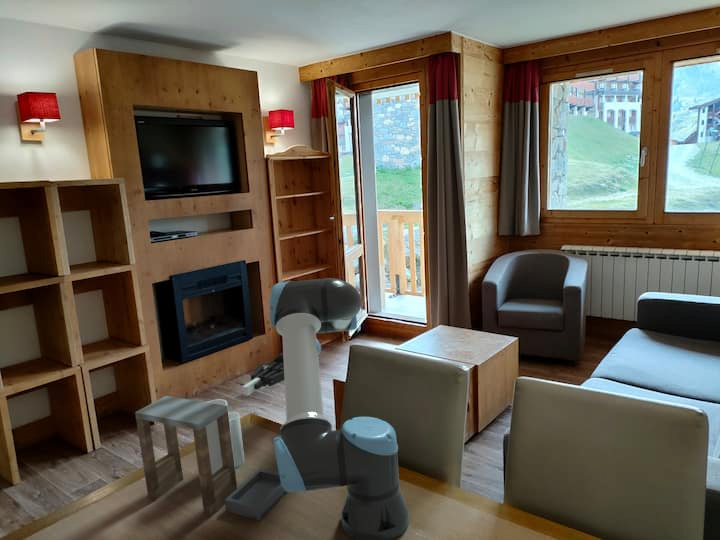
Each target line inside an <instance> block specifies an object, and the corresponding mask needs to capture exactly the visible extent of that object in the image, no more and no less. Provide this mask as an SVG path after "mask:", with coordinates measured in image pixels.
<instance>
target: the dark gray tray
mask: <svg viewBox="0 0 720 540" xmlns="http://www.w3.org/2000/svg"><path fill="white" fill-rule="evenodd" d="M287 493H288V492H286V491H285V490H284V489H283V488H282V485H281V481H280V477H279V472H276V471H271V470H267V469H263V468H258V469H257V470H256V471H255V472H254V473H253V474H252V475H251V476H249V477H248V478H247V479H246V480H245V481H244V482H243V483H241V484H240V486H237V489H236V490H235V491H234V492H233V493H232V494H231V495H230V496H228V497H227V498H226V499H225V505H224V506H225V511H226V512H228V513H232V514H236V515H239V516H242V517H246V518H250V519H254V520H257V521H262V520H263V519H264V517H266V516H267V514H268V513H270V511H271V510H272V509H273V508H274V507H275V506H276V505H277V504H278V503H279V502H280V501H281V500H282V499H283V498H284V497H285V496H286V495H287ZM284 495H285V496H284ZM283 496H284V497H283ZM282 497H283V498H282ZM281 498H282V499H281ZM280 499H281V500H280ZM279 500H280V501H279ZM262 518H263V519H262Z"/></svg>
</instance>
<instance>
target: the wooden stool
mask: <svg viewBox="0 0 720 540" xmlns="http://www.w3.org/2000/svg"><path fill="white" fill-rule="evenodd" d="M207 402H208V401H206V402H205V401H199V400H196V399H195V400H193V399H188V398H181V397H175V396H169V395H165V396H163V397H161V398H159V399H158V400H156V401H153V402H152V403H149V404H148V405H146V406H145V407H143V408H140V409H138V410H137V411H135V412H134V413H135V421H136V426H137V427H136V428H137V434H138V438H139V446H140V451H141V452H140V453H141V458H142V460H141V461H142V464H143V465H142V466H143V471H144V479H145V484H146V491H147V497H148V500H149V501H153V502H155V501H157V500H158V499H159V498H161V497H162V496H164V495H165V494H166V493H167V492H168V491H170V490H171V489H172V488H174V487H175V486H177V485H178V484H179V483H180V482H182V481H183V480H184V476H183V475H184V474H183V468H182V461H181V454H180V447H179V440H178V439H179V438H178V432H177V431H178V430H177V427H179V428H186V429H191V430H192V432H193V439H194V440H193V441H194V446H195V454H196V455H195V456H196V462H197V468H198V479H199V485H200V492H201V501H202V507H203V515H204V516H206V517H209V518H212V517H213V516H214V515H216V513H217V512H219V510H221V509H222V508H223V507H224V506H225V499H226V498H227V497H228V496H230V495H231V494H232V493H233V492H234V491H235V490H236V489H237V488H238V484H237V483H238V482H237V477H236V476H237V475H236V468H235V466H234V458H233V449H232V441H231V433H230V424H229V416H228V413H229V407H227V406H226V405H219V404H213V403H207ZM216 419H217V425H218V433H219V441H220V449H221V458H222V466H223V467H222V468H220V469H219V470H218V471H217V472H215V473H214V474H213V475H212V472H211V464H210V456H209V448H208V441H207V433H206V426H207V425H209V424H210V423H212V422H213V421H215V420H216ZM150 422H153V423H159V424H163V430H164V434H165V435H164V437H165V442H166V449H167V454H166V455H165V456H164V457H162V458H159V460H158V461H156V457H155V452H154V451H155V450H154V449H155V448H154V444H153V437H152V430H151V423H150Z"/></svg>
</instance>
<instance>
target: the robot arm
mask: <svg viewBox="0 0 720 540" xmlns="http://www.w3.org/2000/svg"><path fill="white" fill-rule="evenodd" d="M362 302H363V301H362V296H361V294H360V292H359V291H358V289H357V288H356V287H355V286H354V285H352V284H351V283H349V282H346V281H344V280H343V279H342V280H341V279H339V278H333V277H331V278H330V277H327V278H318V279H305V280H295V281H292V280H287V281H283V282H278V283H275V284H274V285H273V287H272V288H271V291H270V297H269V322H270V325H271V327H272V328H273V327H274V328H275V329H276V332H277V333H278V335H280V336H281V337H282V353H280V354H277V356H276V357H275V359H274V361H273V362H271V363H269V364H268V365H264V363H260V364H259V366H258V368H256V370H254V372H253V373H251V374H250V381H249V382H247V383H245V384H244V385H243V386H242V389H243V390H242V391H243V396H247V397H248V396H250V395H251V394H253V393H254V392H256V391H257V390H259V389H261V388H262V387H266V386H268V387H272V386H275V385H277V384H279V383H280V382H283V381H284V395H285V396H284V397H285V399H284V401H285V417H286V418H285V422H284V423H283V424H282V425H281V426H280V429H279V435H277V436H276V437H274V438H273V440H272V441H273V448H274V453H275V460H276V465H277V471H278V472H277V473H279V477H280V481H281V485H282V488H283V489H284V490H285V491H286V492H287V493H299V492H300V493H301V492H303V493H306V492H309V491H315V490H325V489H332V488H339V487H346V488H347V490H346V494H345V499H344V502H343V505H342V509H341V515H340V516H341V525H342V528H343V531H344V532H345V533H346V534H347V535H348V536H349V537H350V538H352V539H353V540H394V539H396V538H398V537H399V536H401V535H402V534H403V533H404V532H405V531H406V530H407V528H408V526H409V523H410V513H409V506H408V505H407V502H406V500H405V497H404V495H403V492H402V490H401V487H400V478H399V477H400V476H399V475H400V474H399V457H398V450H399V445H398V442H397V435H396V431H395V428H394V427H393V426H392V425H391V424H390V423H388V422H387V421H385V420H382V419H380V418H377V417H372V416H355V417H351V419H348V420H345V421H344V423H343V424H342V427H341V429H335V430H333V429H332V422H331V421H329V420H328V419H327V418H325V415H324V404H323V402H324V401H323V395H322V394H323V393H322V385H321V384H322V383H321V382H322V381H321V373H320V362H319V361H320V360H319V355H320V354H321V352H322V345H321V343H320V341H319V340H318V338H317V334H325V333H326V334H327V333H334V332H335V333H337V332H349V331H354V330H356V329H357V327H358V324H357V323H358V317H357V315H358V314H359V313H360V311H361V307H362V304H363V303H362Z"/></svg>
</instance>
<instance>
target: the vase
mask: <svg viewBox="0 0 720 540" xmlns="http://www.w3.org/2000/svg"><path fill="white" fill-rule="evenodd" d="M206 402H207V403H213V404H219V405H226V406H227V407H228V406H229V405H228V401H227V400H226V399H222V398H221V399H218V398H217V399H212V400H208V401H206ZM228 408H229V407H228ZM228 416H229V424H230V433H231V441H232V449H233V458H234V466H235V469H236V468H239V467H240V468H241V466H243V465H244V464H245V454H244V453H245V452H244V443H243V435H242V426H241V418H240V414H239V412H230V413H229V412H228ZM206 433H207V441H208V448H209V456H210V464H211V472H212V475H213V474H214V473H215V472H217V471H218V470H219V469H220V468H222V467H223V466H222V458H221V449H220V441H219V433H218V425H217V419H216V420H215V421H213V422H212V423H210V424H209V425H207V426H206Z"/></svg>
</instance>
